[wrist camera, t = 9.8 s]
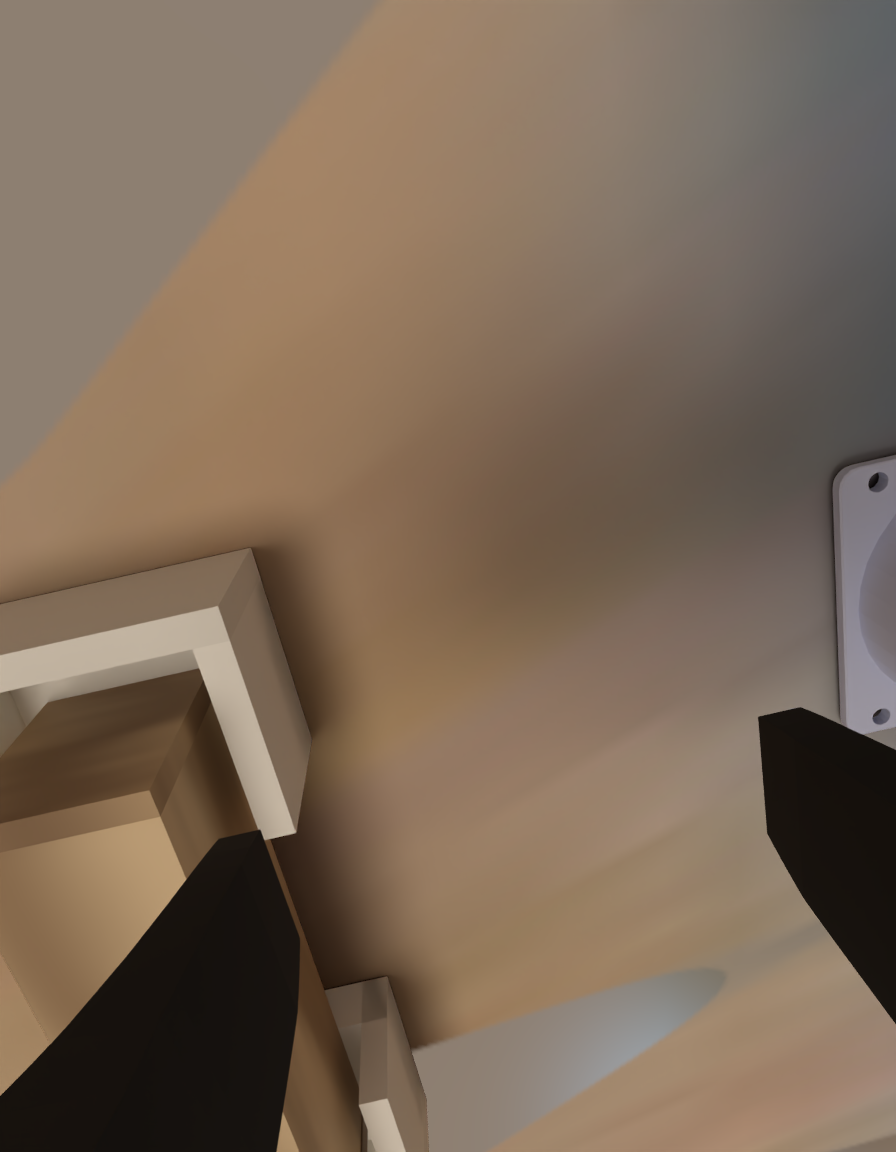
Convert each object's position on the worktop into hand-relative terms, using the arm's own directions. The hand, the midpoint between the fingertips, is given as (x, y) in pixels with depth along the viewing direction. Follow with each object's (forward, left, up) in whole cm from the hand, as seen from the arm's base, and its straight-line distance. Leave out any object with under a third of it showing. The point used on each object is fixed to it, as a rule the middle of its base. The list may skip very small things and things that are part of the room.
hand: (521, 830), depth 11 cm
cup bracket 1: (+9, +1, -10) cm, 13 cm away
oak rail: (+9, +8, -8) cm, 14 cm away
